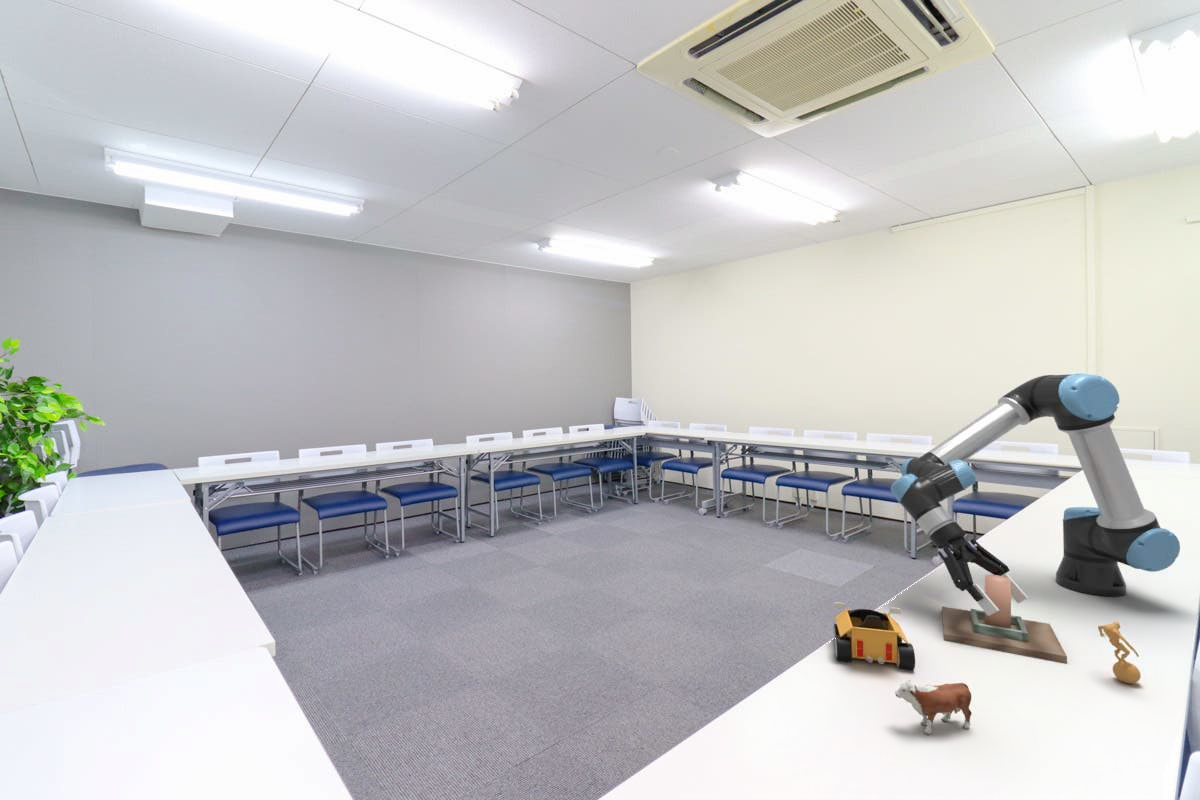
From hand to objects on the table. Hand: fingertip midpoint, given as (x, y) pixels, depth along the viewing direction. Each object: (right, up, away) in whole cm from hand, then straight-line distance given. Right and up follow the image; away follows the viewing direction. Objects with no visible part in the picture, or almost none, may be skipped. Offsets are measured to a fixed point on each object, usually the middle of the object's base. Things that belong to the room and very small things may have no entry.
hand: (1009, 606), depth 125 cm
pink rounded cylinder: (-1, -6, +2) cm, 7 cm away
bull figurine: (-37, -9, -31) cm, 49 cm away
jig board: (-1, -8, +2) cm, 8 cm away
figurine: (+8, -8, -18) cm, 22 cm away
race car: (-35, -9, -6) cm, 37 cm away
